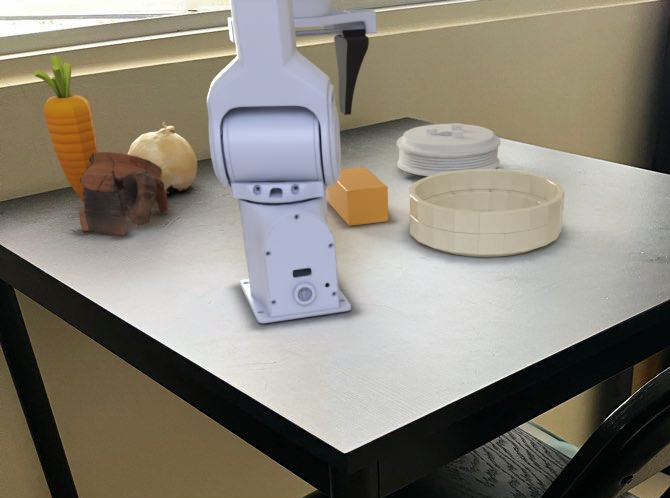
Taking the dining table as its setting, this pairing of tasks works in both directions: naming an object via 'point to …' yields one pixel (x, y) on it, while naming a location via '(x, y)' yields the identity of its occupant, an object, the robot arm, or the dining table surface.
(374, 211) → the orange rectangular block
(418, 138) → the lid
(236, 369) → the dining table surface
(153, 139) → the onion
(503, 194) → the bowl
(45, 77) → the carrot
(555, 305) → the dining table surface
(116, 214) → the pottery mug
